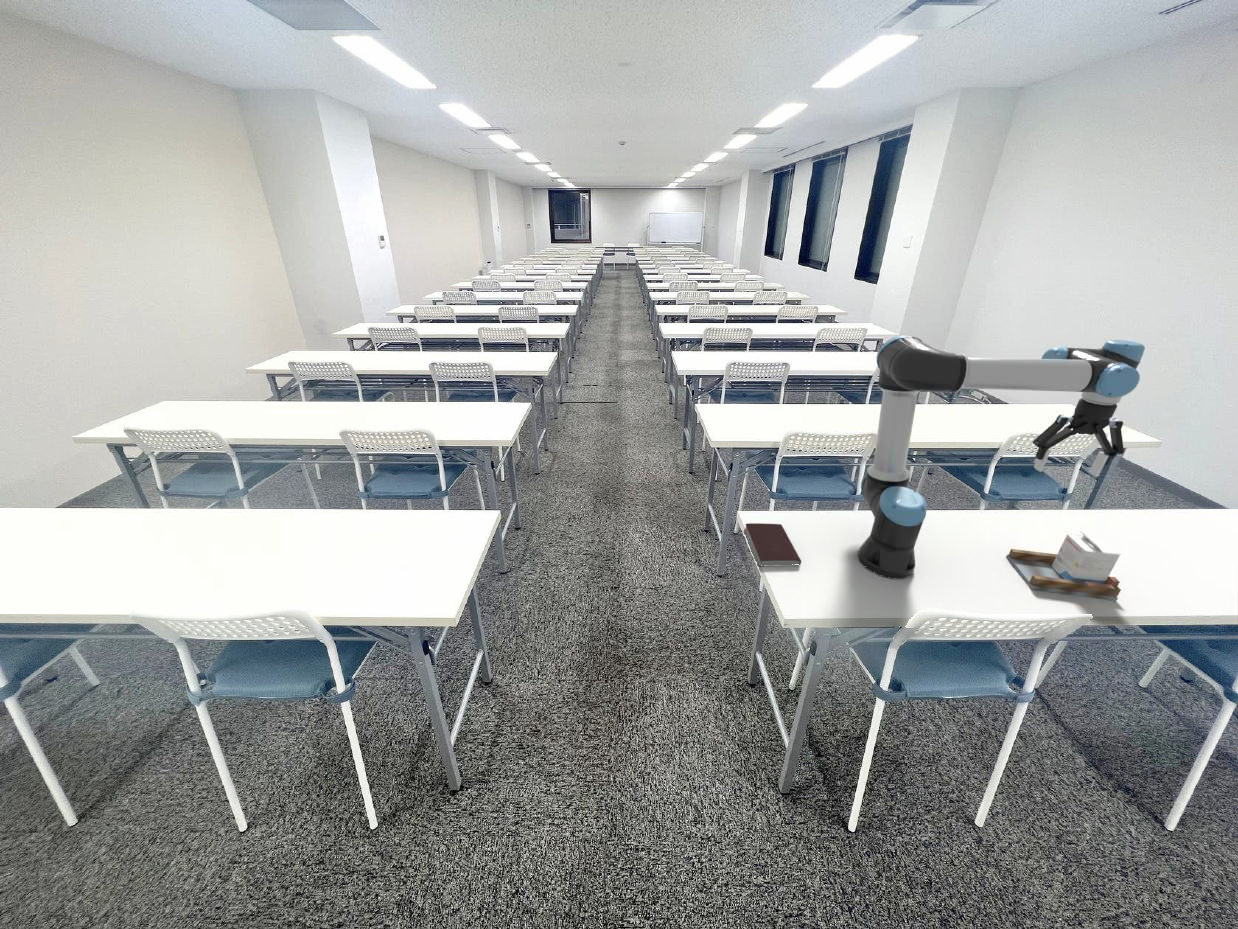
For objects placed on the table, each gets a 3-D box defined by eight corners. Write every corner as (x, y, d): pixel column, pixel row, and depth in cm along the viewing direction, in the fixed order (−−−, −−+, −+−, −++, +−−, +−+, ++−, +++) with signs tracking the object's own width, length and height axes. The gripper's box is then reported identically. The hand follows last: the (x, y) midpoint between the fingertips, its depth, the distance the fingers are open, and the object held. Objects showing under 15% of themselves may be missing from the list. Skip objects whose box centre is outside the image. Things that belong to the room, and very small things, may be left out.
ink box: (1102, 589, 132) (1125, 550, 126) (1067, 585, 133) (1089, 546, 127) (1082, 569, 139) (1103, 531, 133) (1050, 565, 141) (1069, 528, 135)
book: (780, 531, 160) (782, 523, 159) (800, 567, 143) (802, 559, 141) (743, 531, 160) (744, 523, 159) (758, 568, 143) (760, 559, 141)
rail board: (1031, 589, 133) (1038, 575, 131) (1006, 557, 146) (1012, 543, 144) (1116, 601, 129) (1125, 586, 127) (1082, 566, 142) (1089, 553, 140)
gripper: (1051, 401, 125) (1021, 473, 134) (1167, 409, 119) (1126, 482, 129) (1036, 393, 131) (1008, 461, 141) (1145, 399, 126) (1108, 470, 136)
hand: (1065, 472), depth 135 cm, fingers open, 13 cm apart
